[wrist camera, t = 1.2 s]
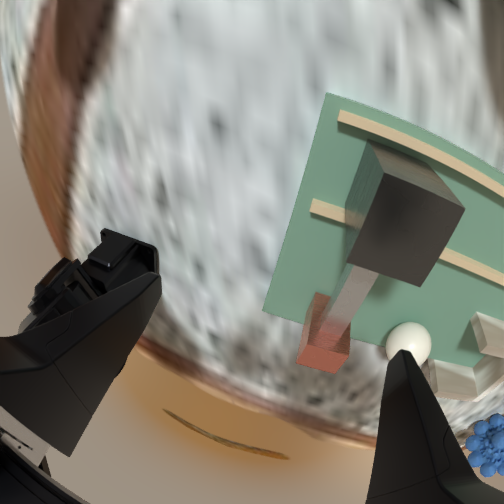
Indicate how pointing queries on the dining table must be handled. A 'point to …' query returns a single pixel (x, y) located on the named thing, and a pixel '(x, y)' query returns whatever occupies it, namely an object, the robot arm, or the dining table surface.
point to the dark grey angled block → (380, 244)
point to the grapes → (487, 446)
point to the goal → (482, 374)
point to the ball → (409, 341)
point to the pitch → (384, 288)
